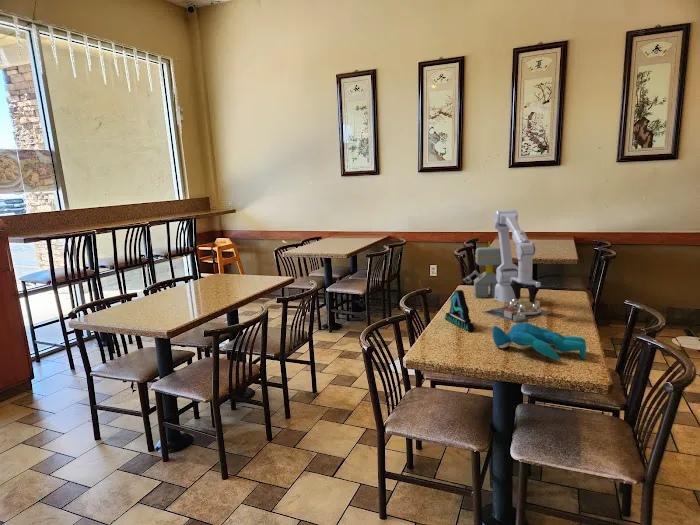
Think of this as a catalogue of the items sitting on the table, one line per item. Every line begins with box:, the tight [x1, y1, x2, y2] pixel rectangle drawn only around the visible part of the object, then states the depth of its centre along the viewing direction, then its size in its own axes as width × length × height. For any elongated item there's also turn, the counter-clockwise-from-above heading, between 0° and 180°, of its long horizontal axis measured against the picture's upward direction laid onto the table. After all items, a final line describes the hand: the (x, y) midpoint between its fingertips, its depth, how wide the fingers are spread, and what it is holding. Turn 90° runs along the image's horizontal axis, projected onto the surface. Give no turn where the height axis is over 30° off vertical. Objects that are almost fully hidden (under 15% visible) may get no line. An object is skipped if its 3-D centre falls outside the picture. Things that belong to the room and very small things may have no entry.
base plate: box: [481, 305, 554, 324], centre depth 200 cm, size 19×23×3 cm
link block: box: [518, 297, 533, 310], centre depth 201 cm, size 4×4×4 cm
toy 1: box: [462, 237, 505, 299], centre depth 230 cm, size 26×9×30 cm, turn 84°
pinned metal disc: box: [508, 297, 543, 316], centre depth 201 cm, size 14×14×4 cm
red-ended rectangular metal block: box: [504, 307, 518, 320], centre depth 192 cm, size 4×4×4 cm
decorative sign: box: [444, 289, 475, 333], centre depth 188 cm, size 19×2×15 cm, turn 18°
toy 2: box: [492, 322, 587, 361], centre depth 157 cm, size 19×10×30 cm
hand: (524, 300), depth 201 cm, fingers open, 7 cm apart
